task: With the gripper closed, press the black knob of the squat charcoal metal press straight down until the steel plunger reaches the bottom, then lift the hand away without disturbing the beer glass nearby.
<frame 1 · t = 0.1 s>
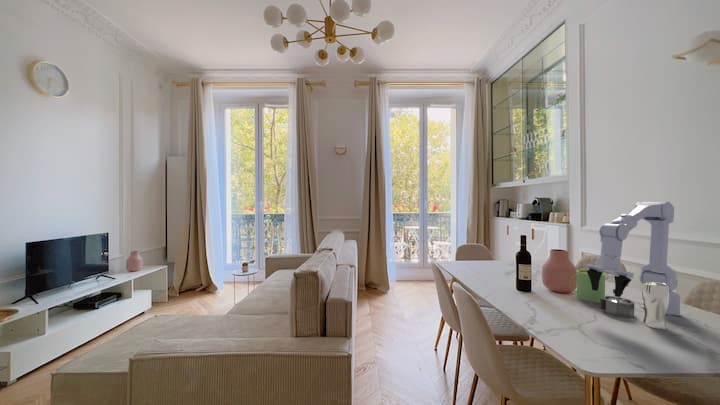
hand: (605, 293, 111), 11 cm above the table, tool pointing down, fingers open, 7 cm apart
mug: (586, 298, 138), on the table
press: (617, 313, 120), on the table
beer glass: (654, 326, 109), on the table
plunger: (617, 296, 120), point 7 cm above the table, slide at 0.0 cm
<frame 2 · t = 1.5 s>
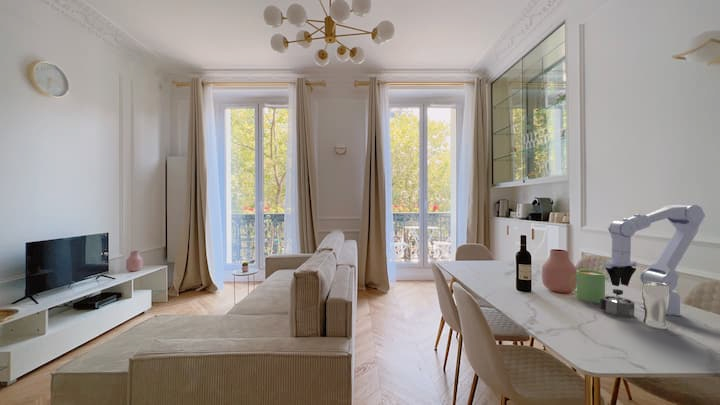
hand: (620, 285, 122), 10 cm above the table, tool pointing down, fingers open, 4 cm apart
nothing on the table moved.
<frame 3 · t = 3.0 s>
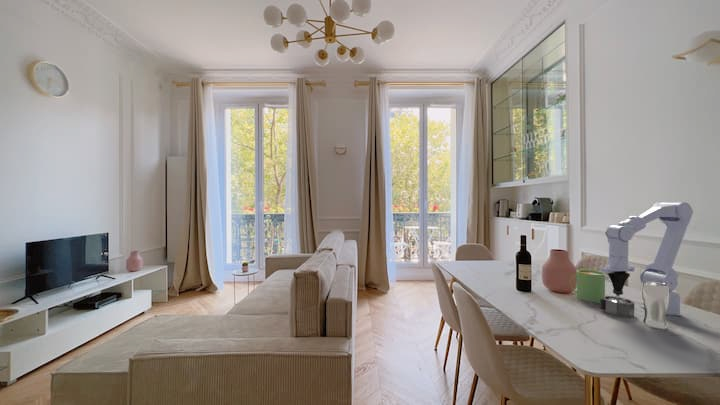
hand: (617, 290, 120), 9 cm above the table, tool pointing down, fingers closed, pressing on plunger
plunger: (617, 296, 120), point 7 cm above the table, slide at 0.1 cm, touching gripper
everything else where it was.
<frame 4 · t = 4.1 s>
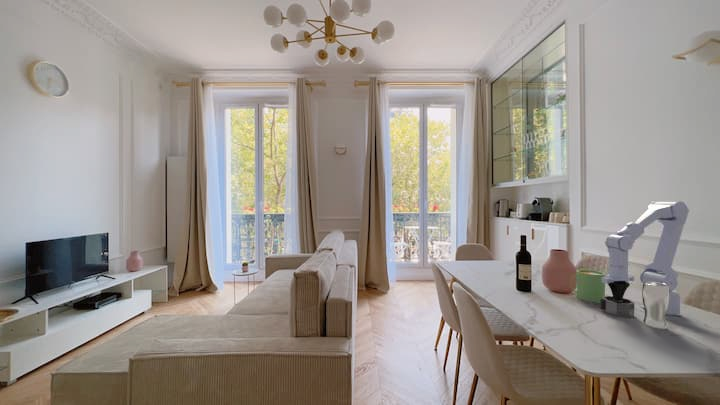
hand: (617, 300, 120), 5 cm above the table, tool pointing down, fingers closed, pressing on plunger
plunger: (617, 305, 120), point 3 cm above the table, slide at 3.7 cm, touching gripper, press
everything else where it was.
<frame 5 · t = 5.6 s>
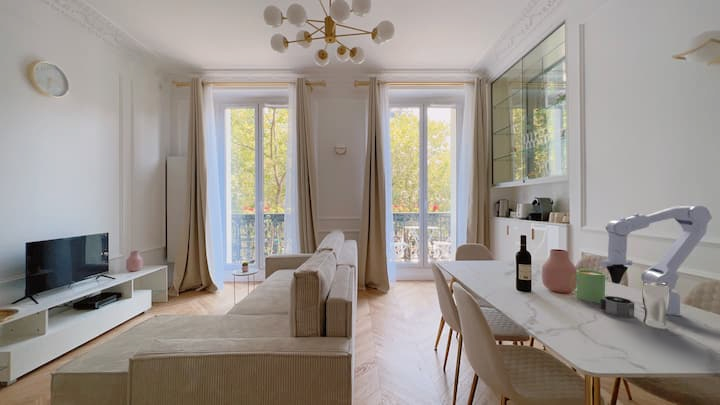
hand: (615, 283, 125), 10 cm above the table, tool pointing down, fingers closed
plunger: (617, 305, 120), point 3 cm above the table, slide at 3.6 cm
everything else where it was.
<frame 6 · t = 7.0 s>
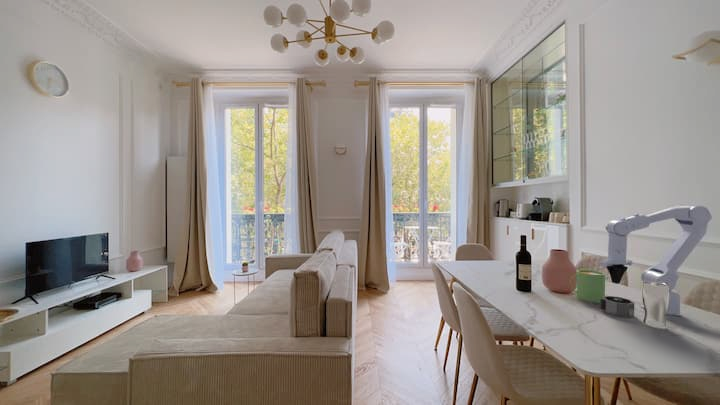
hand: (615, 283, 125), 10 cm above the table, tool pointing down, fingers closed
nothing on the table moved.
at the end: plunger slide at 3.6 cm; beer glass moved 0.2 cm from its start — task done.
